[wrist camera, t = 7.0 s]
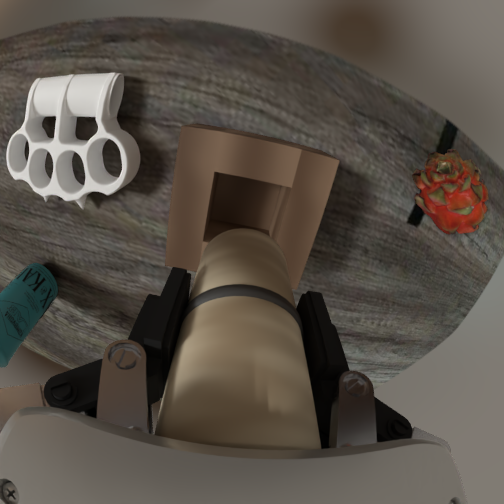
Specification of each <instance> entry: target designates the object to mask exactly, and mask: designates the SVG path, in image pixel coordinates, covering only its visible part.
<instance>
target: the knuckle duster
mask: <svg viewBox="0 0 504 504" xmlns="http://www.w3.org/2000/svg"><path fill="white" fill-rule="evenodd" d="M123 90H124V75H123V74H122V73H104V74H80V75H74V74H72V75H67V76H57V77H49V78H38V79H37V80H36V81H35V82H34V83H33V85H32V87H31V89H30V92H29V95H28V102H27V107H26V115H25V121H24V123H23V125H22V127H21V129H20V130H18V131H16V132H15V133H14V134H13V136H12V137H11V139H10V141H9V144H8V147H7V165H8V169H9V171H10V173H11V175H12V177H13V178H14V179H15V180H19V179H22V180H25V181H26V182H27V183H29V185H30V186H31V187H32V189H33V190H34V191H35V192H37V193H38V194H40V195H42V196H44V199H45V202H46V201H47V200H48V198H49V197H50V195H57V196H59V197H61V198H63V199H64V200H65V201H72V200H76V202H77V203H78V204H79V205H80V207H81V208H82V209H84V205H85V201H86V197H87V195H88V194H89V193H91V192H101V193H104V194H106V195H111V194H113V193H115V192H116V191H118V190H119V189H121V188H122V187H124V186H125V185H127V184H128V183H130V182H131V181H132V180H133V178H134V177H135V176H136V174H137V172H138V169H139V165H140V151H139V147H138V145H137V143H136V141H135V139H134V138H133V137H132V136H131V135H130V134H129V133H127V132H126V131H124V130H122V129H121V128H120V126H119V124H118V121H117V113H118V110H119V107H120V104H121V101H122V96H123ZM45 116H56V125H55V135H54V138H49V137H48V136H47V134H46V132H45V130H44V129H43V127H42V122H43V120H44V118H45ZM77 116H79V117H96V122H97V124H98V131H97V133H96V134H95V135H94V136H93V137H91V138H90V140H89V141H88V140H79V139H77V137H76V135H75V130H76V122H77ZM108 139H111V140H112V141H114V142H115V143H116V144H117V146H118V147H119V149H120V153H121V159H122V172H121V174H120V176H119V177H114V176H112V175H110V174H109V173H108V172H107V171H106V169H105V167H104V163H103V157H102V150H103V146H104V144H105V142H106V141H107V140H108ZM26 140H28V143H29V157H28V162H27V161H26V158H25V154H24V150H25V144H26ZM47 152H49V153H50V154H51V156H52V159H53V166H54V167H53V174H52V178H51V179H50V178H49V177H48V175H47V173H46V170H45V160H46V156H47ZM75 152H76V153H78V154H79V155H80V157H81V158H82V161H83V164H84V169H85V176H86V179H85V184H84V185H82V184H80V183H79V182H78V181H77V180H76V178H75V176H74V173H73V168H72V158H73V155H74V153H75Z"/></svg>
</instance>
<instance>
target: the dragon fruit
mask: <svg viewBox="0 0 504 504" xmlns="http://www.w3.org/2000/svg"><path fill="white" fill-rule="evenodd" d="M447 151H448V153H446V154H445V155H442V154H439V153H437V152H432V153H429V155H428V159H427V161H426V162H425V170H418V169H416V170H415V171H414V173H413V174H412V177H413V180H414V182H415V184H416V186H417V187H418V188H419V189H420V190H421V193H420V194H418V193H416V195H415V197H414V199H415V203H416V204H417V205H418V206H419V207H421V208H422V209H423V211H424V213H425V214H427V215H429V216H430V217H431V218H432V220H433V221H434V223H435V224H436V226H437V227H438V228H439V229H440V230H442V231H443V232H444V233H446V234H455V231H457V232H458V233H460V234H462V233H469V232H474V231H475V230H477V229H479V226H478V224H479V223H480V222H481V221H482V220H483V219H484V214H485V213H486V212H487V206H486V205H485V203H484V202H485V201H486V200H488V199H489V198H488V189H487V187H486V185H484V180H483V179H482V182H480V181H479V174H480V176H481V175H482V174H481V171H480V169H479V168H478V167H477V166H476V165H475V163H474V161H473V160H471V159H470V160H465V161H463V160H462V158H461V157H460V155H459V154H458V152H457V151H456V150H455V149H449V150H447Z"/></svg>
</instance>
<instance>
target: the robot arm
mask: <svg viewBox="0 0 504 504" xmlns="http://www.w3.org/2000/svg"><path fill="white" fill-rule="evenodd" d="M190 280H191V274H190V273H187V269H183V268H178V267H173V268H172V270H171V273H170V275H169V277H168V280H167V282H166V284H165V286H164V289H163V291H162V294H161V296H157V295H152V294H149V295H148V296H147V298H146V300H145V302H144V304H143V307H142V309H141V311H140V313H139V315H138V317H137V320H136V322H135V324H134V326H133V329H132V331H131V333H130V335H129V338H128V340H127V339H121V340H117V341H114V342H112V343H110V344H109V345H108V346H107V347H106V348H105V351H104V354H103V359H100V360H97V361H94V362H92V363H89V364H86V365H83V366H81V367H78V368H75V369H72V370H70V371H67V372H64V373H61V374H58V375H55V376H53V377H51V378H50V379H49V380H48V381H47V382H46V384H44V385H40V383H33V384H26V385H20V386H12V387H5V388H0V504H467V500H466V495H465V491H464V487H463V484H462V480H461V477H460V474H459V471H458V469H457V466H456V463H455V461H454V459H453V457H452V455H451V452H450V451H451V450H450V446H449V444H448V443H447V442H446V441H445V440H443V439H441V438H439V437H436V436H434V435H432V434H429V433H427V432H425V431H423V430H421V429H419V428H416V427H414V428H413V429H412V427H411V424H410V423H409V421H408V420H407V419H406V418H405V417H403V416H402V415H400V414H399V413H397V412H396V411H394V410H393V409H392V408H390V407H388V406H387V405H386V404H384V403H383V402H381V401H380V400H378V399H377V398H375V397H374V388H373V384H372V382H371V381H370V379H369V378H368V377H367V376H366V375H364V374H363V373H361V372H358V371H350V370H349V367H348V364H347V361H346V358H345V354H344V351H343V348H342V345H341V342H340V339H339V336H338V333H337V330H336V327H335V326H334V325H333V324H332V323H331V320H330V317H329V314H328V311H327V308H326V305H325V302H324V299H323V296H322V294H321V293H319V292H312V291H307V293H306V294H302V296H301V298H300V301H299V303H298V306H297V308H296V310H297V312H298V313H299V315H300V318H301V321H302V326H303V331H304V342H303V346H304V351H305V356H306V362H307V367H308V372H309V378H310V383H311V389H312V394H313V400H314V406H315V412H316V418H317V424H318V430H319V436H320V442H321V449H312V450H260V449H243V448H231V447H222V446H213V445H206V444H199V443H192V442H187V441H181V440H176V439H171V438H166V437H161V436H157V435H154V432H153V417H152V404H153V403H155V402H157V401H159V400H160V398H163V394H164V390H165V386H166V382H167V378H168V374H169V370H170V366H171V362H172V358H173V354H174V350H175V347H176V343H177V339H178V336H179V327H180V319H181V316H182V312H183V311H184V309H185V307H186V306H187V303H188V299H189V289H190Z"/></svg>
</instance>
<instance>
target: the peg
mask: <svg viewBox="0 0 504 504" xmlns="http://www.w3.org/2000/svg"><path fill="white" fill-rule="evenodd" d="M303 342H304V331H303V326H302V321H301V318H300V315H299V313H298V312H297V310H296V306H295V301H294V297H293V292H292V287H291V283H290V278H289V273H288V269H287V264H286V260H285V256H284V253H283V251H282V249H281V247H280V246H279V245H278V243H277V242H276V241H275V240H274V239H272V238H271V237H270V236H268V235H266V234H265V233H262V232H260V231H257V230H253V229H245V228H240V229H233V230H229V231H226V232H223V233H221V234H219V235H218V236H216V237H215V238H213V239H212V240H211V241H210V242H209V244H208V245H207V246H206V248H205V250H204V252H203V254H202V257H201V260H200V263H199V267H198V270H197V273H196V276H195V280H194V283H193V286H192V290H191V293H190V297H189V300H188V303H187V306H186V307H185V309H184V311H183V312H182V316H181V319H180V327H179V336H178V339H177V343H176V347H175V350H174V354H173V358H172V362H171V366H170V370H169V374H168V378H167V382H166V386H165V390H164V394H163V399H162V403H161V408H160V412H159V416H158V421H157V425H156V430H155V434H154V435H157V436H161V437H166V438H171V439H176V440H181V441H187V442H192V443H199V444H206V445H213V446H222V447H231V448H243V449H260V450H312V449H321V442H320V436H319V430H318V424H317V418H316V412H315V406H314V400H313V394H312V389H311V383H310V378H309V372H308V367H307V362H306V356H305V351H304V346H303Z"/></svg>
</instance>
